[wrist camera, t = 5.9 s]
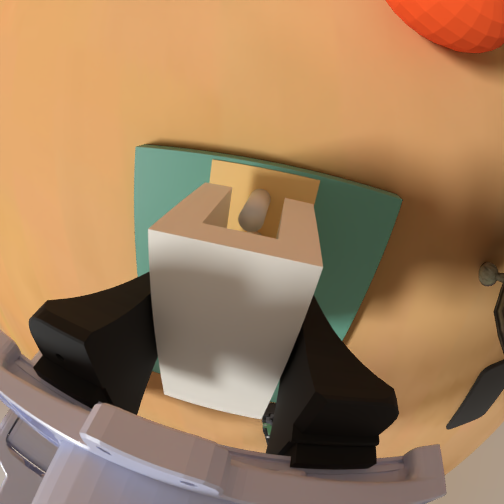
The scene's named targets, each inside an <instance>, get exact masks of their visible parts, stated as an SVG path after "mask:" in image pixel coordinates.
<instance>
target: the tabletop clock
mask: <svg viewBox="0 0 504 504" xmlns="http://www.w3.org/2000/svg"><path fill="white" fill-rule="evenodd" d="M479 280H480V282H481V283H482V284H483V285H484V286H492V285H493V284H495V283H496V281H500V282H502V283H503V284H502V287H501V289H500V293H499V296H498V300H497V303H496V306H495V309H494V316H495V321H496V327H497V333H498V337H499V340H500V344H501V347H502V350H503V353H504V273H498V269H497V267H496V266H495V265H494V264H493V263H488V262H487V263H484V264H483V265H482V266H481V267H480V269H479Z"/></svg>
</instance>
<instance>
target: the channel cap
mask: <svg viewBox="0 0 504 504" xmlns="http://www.w3.org/2000/svg"><path fill="white" fill-rule="evenodd" d="M231 194H232V187H228V186H223V185H217V184H211V183H204V184H202V185H201V186H200V187H199V188H197V189H196V190H195V191H193V192H192V193H191V194H190V195H188V196H187V197H186V198H185V199H183V200H182V201H181V202H180V203H178V204H177V205H176V206H175V207H174V208H172V209H171V210H170V211H169V212H167V213H166V214H165V215H164V216H163V217H162V218H160V219H159V220H158V221H157V222H156V223H154V224H153V225H152V226H151V227H150V228H149V229H148V249H149V271H150V287H151V300H152V311H153V321H154V330H155V338H156V346H157V353H158V360H159V366H160V373H161V379H162V384H163V390H164V394H165V395H167V396H170V397H174V398H177V399H180V400H183V401H186V402H190V403H193V404H197V405H200V406H204V407H208V408H211V409H215V410H219V411H223V412H228V413H232V414H237V415H241V416H246V417H251V418H256V419H262V417H263V415H264V413H265V410H266V408H267V406H268V404H269V402H270V400H271V398H272V395H273V393H274V391H275V389H276V386H277V384H278V382H279V380H280V377H281V375H282V373H283V370H284V368H285V366H286V363H287V361H288V359H289V356H290V354H291V352H292V349H293V347H294V344H295V342H296V339H297V337H298V334H299V332H300V329H301V327H302V324H303V321H304V319H305V316H306V314H307V311H308V308H309V305H310V303H311V300H312V297H313V295H314V292H315V289H316V286H317V283H318V280H319V278H320V275H321V272H322V269H323V263H322V255H321V249H320V242H319V235H318V229H317V223H316V217H315V211H314V206H313V204H310V203H306V202H302V201H297V200H293V199H288V198H285V199H284V204H283V209H282V213H281V218H280V222H279V227H278V231H277V236H276V239H275V238H270V237H266V236H261V235H257V234H252V233H247V232H242V231H238V230H233V229H228V228H227V223H228V216H229V209H230V201H231Z"/></svg>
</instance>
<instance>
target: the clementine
mask: <svg viewBox="0 0 504 504" xmlns="http://www.w3.org/2000/svg"><path fill="white" fill-rule="evenodd" d="M386 2H387V3H388V4H389V6H390V7H391V8H392V10H393V11H394V12H395V13H396V14H397V15H398V16H399V17H400V18H401V19H402V20H403V21H404V22H405V23H406V24H407V25H408V26H409V27H411V28H412V29H413V30H415V31H416V32H417V33H418V34H420V35H421V36H423V37H425V38H427V39H428V40H430V41H432V42H434V43H436V44H439V45H442V46H444V47H447V48H450V49H452V50H455V51H459V52H467V53H483V52H488V51H492V50H494V49H496V48H499V47H501V46H502V45H503V44H504V0H386Z"/></svg>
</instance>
